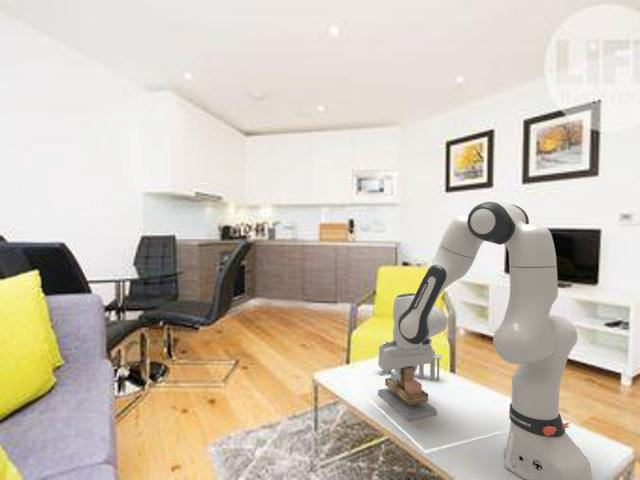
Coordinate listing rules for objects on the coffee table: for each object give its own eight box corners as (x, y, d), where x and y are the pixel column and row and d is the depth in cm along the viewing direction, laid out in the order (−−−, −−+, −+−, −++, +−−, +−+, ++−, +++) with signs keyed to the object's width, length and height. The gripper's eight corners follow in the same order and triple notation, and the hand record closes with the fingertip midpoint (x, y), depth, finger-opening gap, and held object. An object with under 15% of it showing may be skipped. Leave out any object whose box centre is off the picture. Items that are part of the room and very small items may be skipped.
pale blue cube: (406, 384, 135) (406, 373, 135) (396, 386, 134) (396, 375, 134) (400, 380, 139) (400, 369, 139) (390, 382, 137) (390, 371, 137)
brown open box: (428, 401, 126) (428, 373, 125) (410, 404, 123) (410, 376, 123) (401, 382, 141) (401, 357, 140) (385, 385, 138) (385, 359, 138)
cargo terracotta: (421, 395, 127) (421, 384, 126) (411, 397, 125) (411, 385, 125) (414, 390, 130) (414, 379, 130) (404, 392, 129) (404, 381, 129)
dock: (437, 417, 125) (437, 408, 125) (408, 424, 121) (408, 414, 121) (403, 392, 144) (403, 384, 143) (378, 397, 140) (378, 389, 140)
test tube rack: (442, 381, 153) (442, 349, 152) (441, 385, 149) (441, 353, 148) (382, 371, 164) (382, 341, 163) (379, 375, 160) (379, 344, 159)
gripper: (384, 346, 125) (384, 386, 125) (435, 338, 132) (435, 377, 132) (375, 340, 131) (375, 379, 131) (424, 333, 138) (424, 370, 138)
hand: (405, 378), depth 132 cm, fingers closed on brown open box, 3 cm apart
